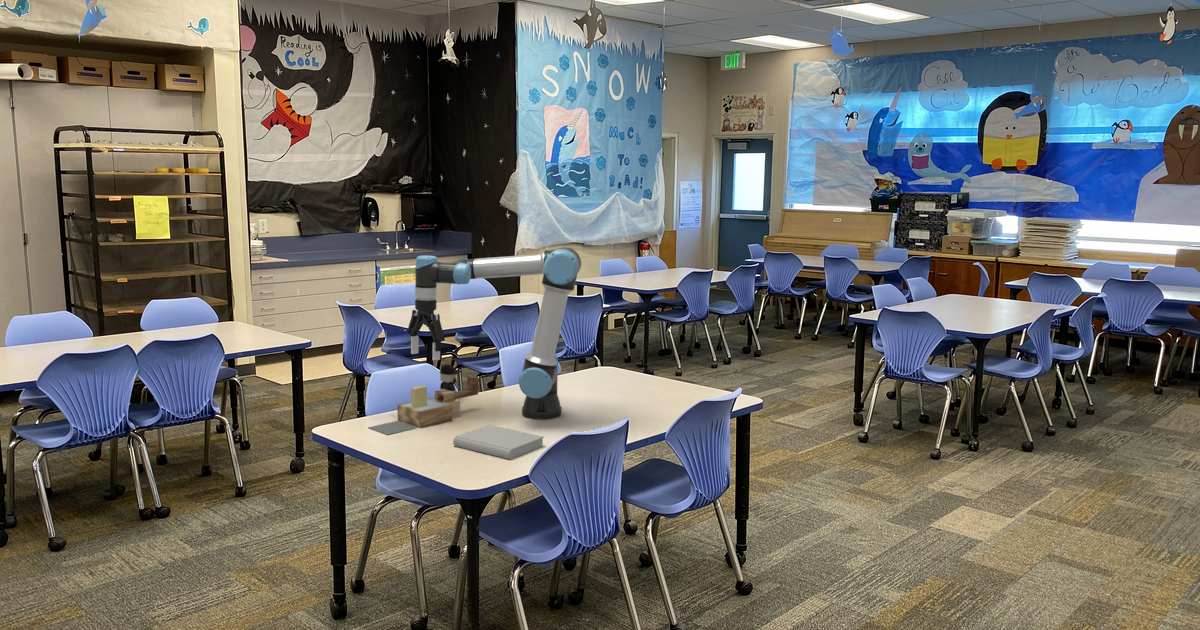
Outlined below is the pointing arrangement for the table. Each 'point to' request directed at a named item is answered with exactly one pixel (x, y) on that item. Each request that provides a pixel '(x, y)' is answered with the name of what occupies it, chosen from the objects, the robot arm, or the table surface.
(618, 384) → the table surface
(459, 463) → the table surface
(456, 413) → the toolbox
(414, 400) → the lid
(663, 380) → the table surface
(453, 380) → the toy
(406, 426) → the mat
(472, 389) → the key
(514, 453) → the book
